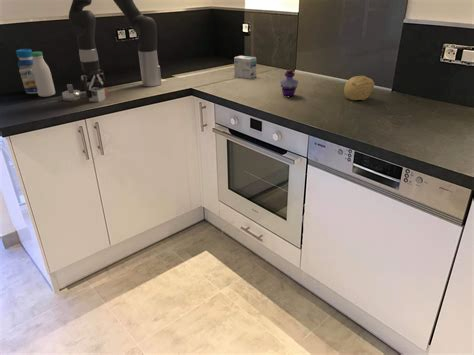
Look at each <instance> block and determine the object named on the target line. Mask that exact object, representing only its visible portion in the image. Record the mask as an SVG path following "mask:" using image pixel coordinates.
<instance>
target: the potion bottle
mask: <svg viewBox="0 0 474 355" xmlns="http://www.w3.org/2000/svg"><path fill="white" fill-rule="evenodd" d="M284 76H285V77H286V78H284V79H281V80H279V82H280V87H281V91H282V96H283V95H284V96H289V97H288V98H291V97H290V96H295V94H296V93H295V92H296V90H297V88H298V84H299V80H297V79H294V77H295V72H294V70H293V69H287V70H286V72H285V73H284ZM284 96H283V97H284Z"/></svg>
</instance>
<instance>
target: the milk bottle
mask: <svg viewBox="0 0 474 355" xmlns="http://www.w3.org/2000/svg"><path fill="white" fill-rule="evenodd" d="M31 55H32V58H33V66H32V72H33V77H34V81H35V85H36V89H37V92H38V93H37V96H38V97H43V98H44V97H51V96H54V95H56V89H55V84H54V80H53V78H52V76H53V75H52V73H51V70H50V67H49V65H48V64H47V62H46V61H45V60H44V56H43V55H44V54H43V51H39V50H38V51H32V53H31Z"/></svg>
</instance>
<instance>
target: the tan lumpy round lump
mask: <svg viewBox="0 0 474 355" xmlns="http://www.w3.org/2000/svg"><path fill="white" fill-rule="evenodd" d="M374 86H375V82H374V80H373V79H372V78H370V77H367V76H365V75H357V76H352V77H351V78H349V79H347V81H346V82H345V85H344V88H343V90H344V91H343V92H344V95H345V96H346V99H348V100H351V101H353V100H363V101H365V100H367V98H369V96H370V95H371V93H372V92H373V91H374Z"/></svg>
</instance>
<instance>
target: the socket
mask: <svg viewBox="0 0 474 355" xmlns="http://www.w3.org/2000/svg"><path fill="white" fill-rule="evenodd" d="M104 88H105V87H103V88H98V87H91V92H92V98H88V99H89V100H88V101H89V102H96V103H100V102H102V101H105V100H106V99H107V98H106V95H105V91H104Z"/></svg>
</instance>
